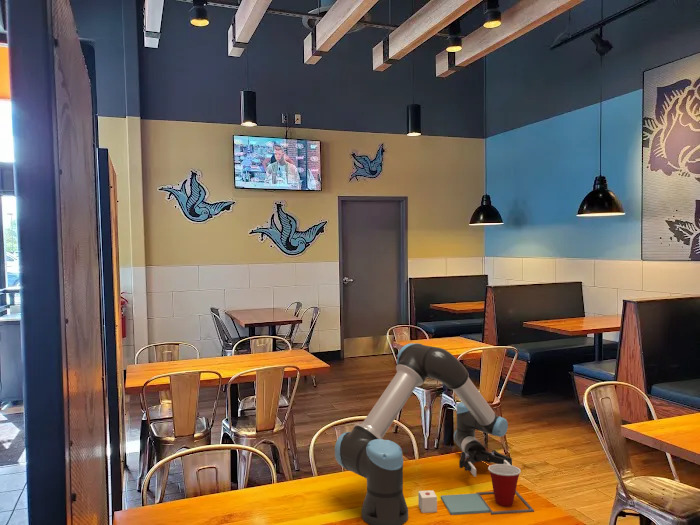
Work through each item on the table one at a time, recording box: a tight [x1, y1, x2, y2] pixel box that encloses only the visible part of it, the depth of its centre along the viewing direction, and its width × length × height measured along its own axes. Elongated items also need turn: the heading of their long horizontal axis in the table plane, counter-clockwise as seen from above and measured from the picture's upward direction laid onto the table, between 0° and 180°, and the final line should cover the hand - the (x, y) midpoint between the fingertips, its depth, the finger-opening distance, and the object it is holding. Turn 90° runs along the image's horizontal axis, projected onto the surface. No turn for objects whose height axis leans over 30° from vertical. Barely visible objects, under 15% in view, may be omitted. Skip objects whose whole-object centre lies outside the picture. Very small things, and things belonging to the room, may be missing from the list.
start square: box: [476, 490, 535, 515], centre depth 186 cm, size 15×15×1 cm
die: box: [417, 489, 438, 514], centre depth 182 cm, size 5×5×5 cm
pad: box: [440, 492, 490, 516], centre depth 185 cm, size 13×12×1 cm
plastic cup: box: [487, 463, 522, 508], centre depth 186 cm, size 11×11×12 cm
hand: (493, 471), depth 195 cm, fingers open, 13 cm apart
